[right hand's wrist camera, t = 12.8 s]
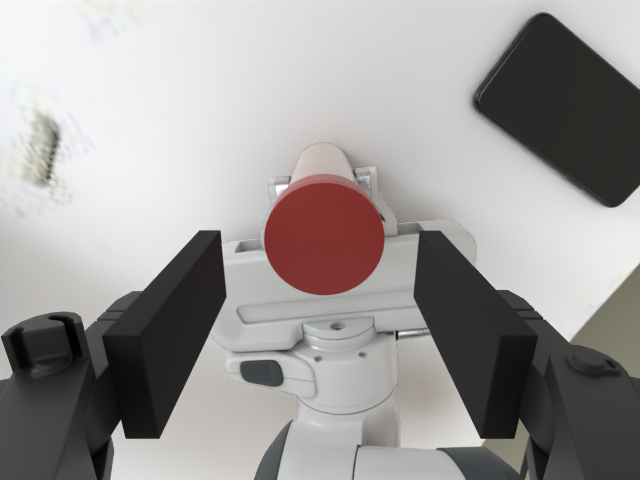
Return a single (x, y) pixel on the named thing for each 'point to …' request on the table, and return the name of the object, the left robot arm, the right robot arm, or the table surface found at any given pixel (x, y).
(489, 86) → the smartphone
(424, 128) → the table surface
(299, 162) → the brown cylinder
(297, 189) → the lid
